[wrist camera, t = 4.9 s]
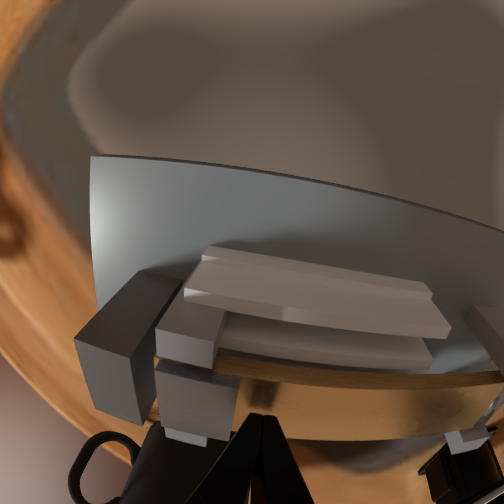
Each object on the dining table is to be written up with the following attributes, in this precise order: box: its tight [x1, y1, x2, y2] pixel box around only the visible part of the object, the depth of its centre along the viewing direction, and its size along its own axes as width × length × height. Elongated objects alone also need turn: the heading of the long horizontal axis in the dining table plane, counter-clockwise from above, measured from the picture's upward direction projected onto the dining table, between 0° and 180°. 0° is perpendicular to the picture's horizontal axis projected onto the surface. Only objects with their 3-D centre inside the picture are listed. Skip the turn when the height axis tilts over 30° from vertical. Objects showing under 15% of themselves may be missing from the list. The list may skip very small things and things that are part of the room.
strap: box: [154, 352, 504, 441], centre depth 9 cm, size 15×3×2 cm, turn 82°
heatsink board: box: [74, 154, 504, 454], centre depth 11 cm, size 22×13×6 cm, turn 82°
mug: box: [68, 421, 251, 504], centre depth 14 cm, size 8×12×10 cm
